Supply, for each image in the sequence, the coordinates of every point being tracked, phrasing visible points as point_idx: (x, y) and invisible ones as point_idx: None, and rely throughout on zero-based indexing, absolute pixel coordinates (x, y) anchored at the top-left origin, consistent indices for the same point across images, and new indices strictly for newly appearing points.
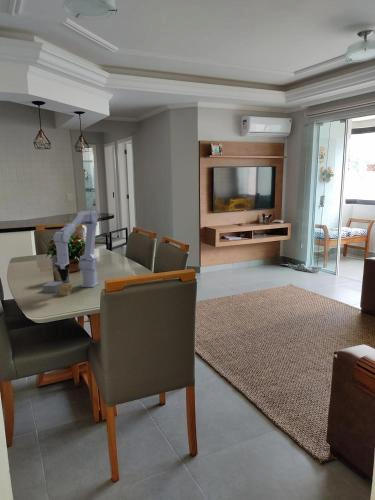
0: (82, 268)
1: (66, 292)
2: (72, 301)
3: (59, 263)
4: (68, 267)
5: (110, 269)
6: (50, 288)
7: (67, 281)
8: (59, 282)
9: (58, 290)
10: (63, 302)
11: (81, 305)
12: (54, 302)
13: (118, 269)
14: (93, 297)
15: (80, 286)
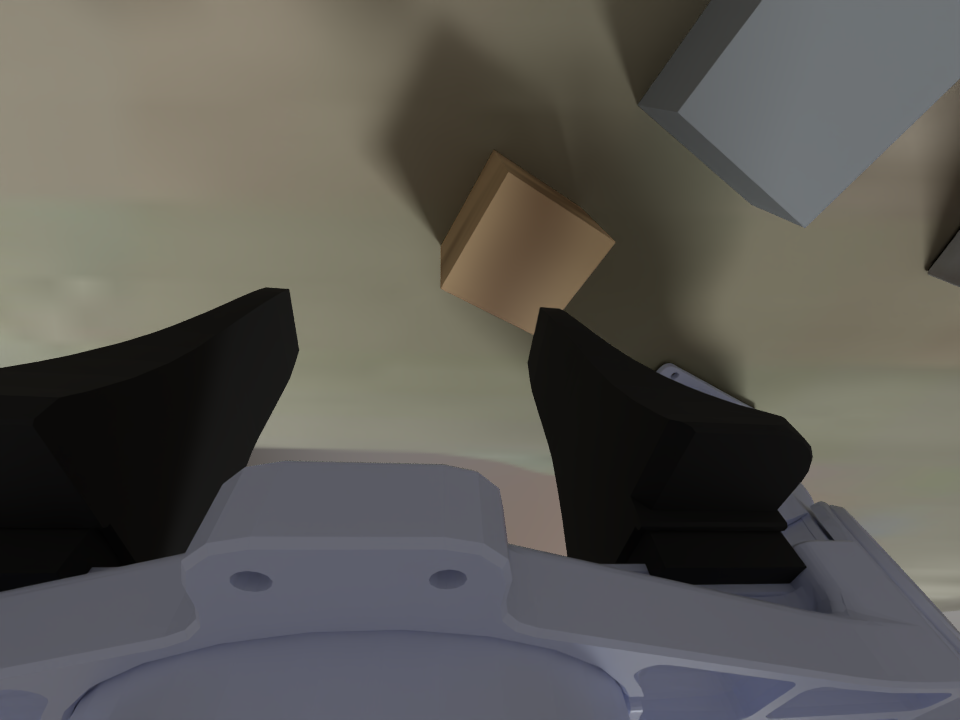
0: (784, 536)
1: (447, 246)
2: (216, 283)
3: (86, 703)
4: (565, 535)
5: (950, 533)
6: (724, 19)
7: (946, 258)
8: (820, 181)
9: (683, 143)
10: (184, 192)
11: None
12: (188, 73)
13: (898, 562)
14: (313, 434)
15: (667, 364)
